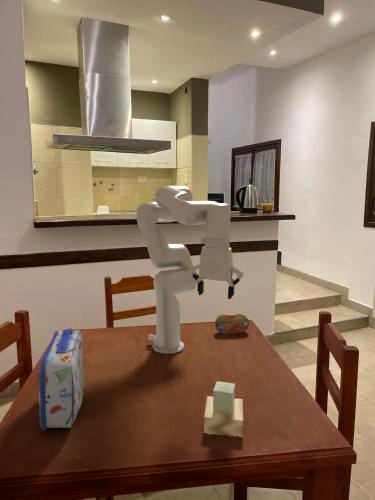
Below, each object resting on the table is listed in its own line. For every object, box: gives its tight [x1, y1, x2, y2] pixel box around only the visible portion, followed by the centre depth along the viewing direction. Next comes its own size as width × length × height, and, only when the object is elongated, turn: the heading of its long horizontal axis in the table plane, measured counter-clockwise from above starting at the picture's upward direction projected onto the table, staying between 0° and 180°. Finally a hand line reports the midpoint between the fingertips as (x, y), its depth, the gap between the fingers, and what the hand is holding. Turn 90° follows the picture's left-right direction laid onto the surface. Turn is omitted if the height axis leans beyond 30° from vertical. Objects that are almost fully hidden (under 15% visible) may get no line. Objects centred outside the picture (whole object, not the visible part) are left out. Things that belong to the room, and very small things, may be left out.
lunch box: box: [37, 328, 85, 431], centre depth 107 cm, size 28×10×22 cm, turn 12°
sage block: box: [212, 380, 236, 414], centre depth 101 cm, size 5×5×6 cm
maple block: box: [203, 395, 244, 438], centre depth 101 cm, size 10×10×5 cm
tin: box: [214, 313, 250, 335], centre depth 166 cm, size 15×3×8 cm, turn 97°
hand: (215, 296), depth 119 cm, fingers open, 9 cm apart
